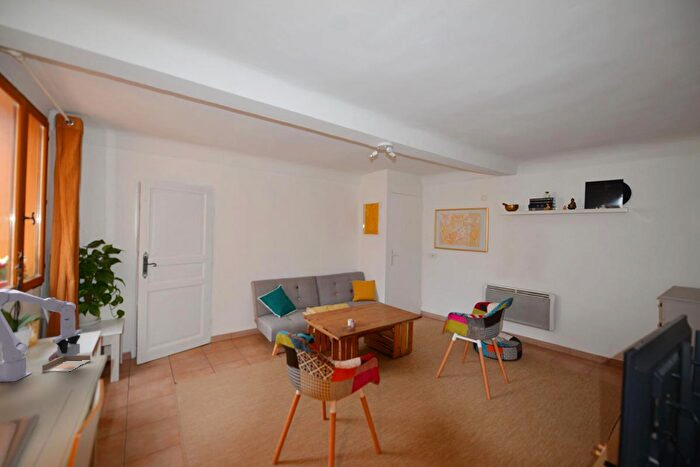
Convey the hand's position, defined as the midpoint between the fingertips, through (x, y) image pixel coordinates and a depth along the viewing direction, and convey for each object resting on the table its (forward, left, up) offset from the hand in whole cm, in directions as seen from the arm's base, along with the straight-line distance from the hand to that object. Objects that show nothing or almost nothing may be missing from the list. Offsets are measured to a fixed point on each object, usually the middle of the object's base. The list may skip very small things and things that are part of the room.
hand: (68, 351), depth 156 cm
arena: (-2, +1, -8) cm, 8 cm away
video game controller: (-14, +11, -9) cm, 20 cm away
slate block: (0, 0, -2) cm, 2 cm away
